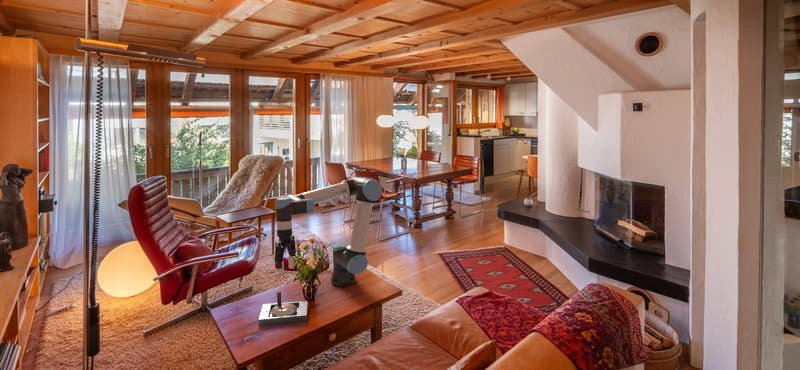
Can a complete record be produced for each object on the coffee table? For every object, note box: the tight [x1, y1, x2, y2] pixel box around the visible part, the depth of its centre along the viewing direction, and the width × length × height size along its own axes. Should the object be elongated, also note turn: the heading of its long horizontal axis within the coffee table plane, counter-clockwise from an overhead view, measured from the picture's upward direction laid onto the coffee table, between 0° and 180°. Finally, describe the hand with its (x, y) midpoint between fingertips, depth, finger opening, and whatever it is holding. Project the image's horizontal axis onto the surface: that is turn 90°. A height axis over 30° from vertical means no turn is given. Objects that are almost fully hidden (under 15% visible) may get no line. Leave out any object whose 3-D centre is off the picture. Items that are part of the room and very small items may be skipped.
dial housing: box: [258, 300, 309, 327], centre depth 205 cm, size 22×16×4 cm
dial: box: [271, 291, 297, 317], centre depth 204 cm, size 12×12×9 cm
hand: (286, 271), depth 212 cm, fingers open, 8 cm apart
